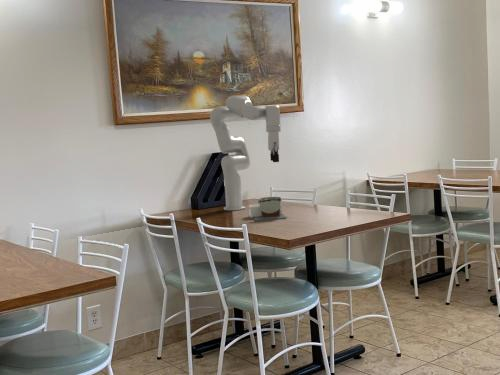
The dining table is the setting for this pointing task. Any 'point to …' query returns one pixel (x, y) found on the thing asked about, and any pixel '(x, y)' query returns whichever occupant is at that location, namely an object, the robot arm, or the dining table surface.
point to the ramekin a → (254, 211)
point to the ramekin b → (280, 209)
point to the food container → (270, 206)
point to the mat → (269, 218)
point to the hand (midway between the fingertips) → (274, 161)
